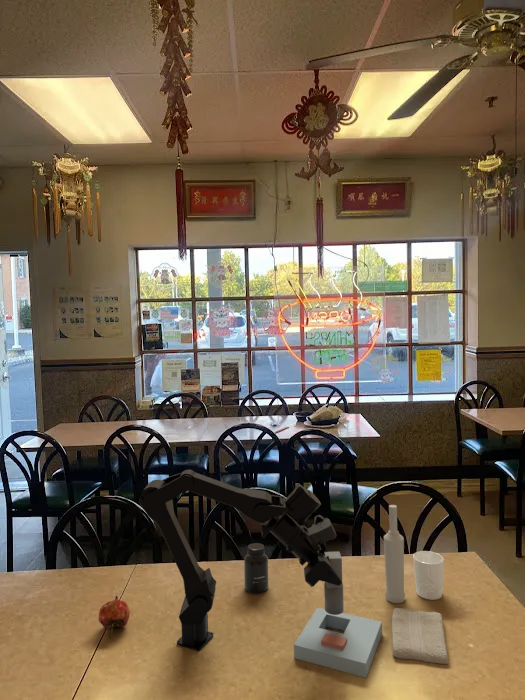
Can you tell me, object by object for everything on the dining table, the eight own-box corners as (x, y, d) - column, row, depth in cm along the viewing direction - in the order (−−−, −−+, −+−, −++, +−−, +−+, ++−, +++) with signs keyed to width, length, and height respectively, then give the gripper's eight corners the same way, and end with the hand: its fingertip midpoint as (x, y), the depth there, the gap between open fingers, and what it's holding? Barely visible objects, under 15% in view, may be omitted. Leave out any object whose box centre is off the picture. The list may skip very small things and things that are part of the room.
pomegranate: (129, 643, 118) (138, 601, 126) (118, 631, 114) (128, 588, 121) (100, 645, 119) (111, 603, 127) (88, 633, 115) (100, 590, 122)
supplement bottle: (258, 596, 133) (257, 553, 133) (239, 589, 137) (238, 547, 137) (273, 586, 139) (272, 544, 138) (254, 579, 143) (253, 539, 142)
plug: (326, 615, 112) (324, 559, 112) (323, 604, 117) (322, 551, 117) (345, 614, 112) (343, 559, 112) (342, 604, 117) (340, 550, 116)
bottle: (406, 604, 127) (403, 509, 126) (385, 602, 128) (383, 509, 128) (404, 594, 132) (402, 503, 132) (384, 592, 133) (382, 502, 133)
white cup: (449, 601, 128) (448, 563, 128) (419, 601, 128) (418, 564, 128) (438, 585, 136) (437, 550, 136) (410, 586, 136) (409, 551, 136)
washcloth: (441, 620, 120) (441, 608, 120) (450, 668, 103) (450, 654, 103) (391, 615, 123) (391, 603, 123) (392, 661, 106) (392, 647, 106)
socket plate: (366, 677, 100) (365, 659, 100) (294, 658, 107) (293, 641, 107) (382, 634, 115) (381, 618, 115) (317, 619, 122) (317, 604, 122)
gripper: (319, 525, 105) (371, 574, 105) (311, 497, 123) (355, 538, 124) (284, 562, 105) (336, 611, 105) (280, 528, 124) (325, 570, 124)
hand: (339, 579), depth 114 cm, fingers closed on plug, 4 cm apart
